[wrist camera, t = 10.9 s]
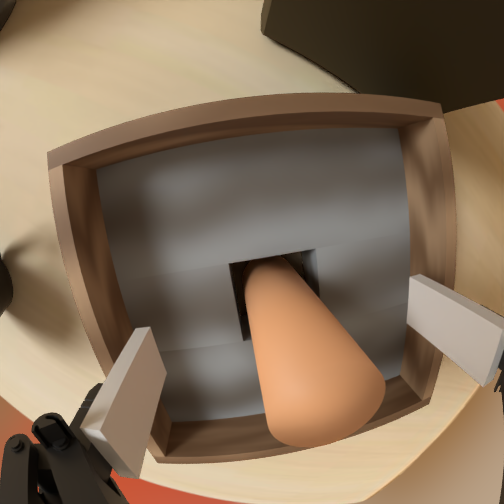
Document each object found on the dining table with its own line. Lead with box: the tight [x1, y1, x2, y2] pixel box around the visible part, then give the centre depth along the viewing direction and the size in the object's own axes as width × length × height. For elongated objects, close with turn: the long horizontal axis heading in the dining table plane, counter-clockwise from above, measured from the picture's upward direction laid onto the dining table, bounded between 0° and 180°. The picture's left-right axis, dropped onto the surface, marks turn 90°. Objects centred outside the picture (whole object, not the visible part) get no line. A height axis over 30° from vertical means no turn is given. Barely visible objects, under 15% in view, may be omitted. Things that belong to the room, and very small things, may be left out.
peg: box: [242, 255, 386, 447], centre depth 14 cm, size 4×4×14 cm
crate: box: [47, 93, 457, 464], centre depth 17 cm, size 22×22×8 cm
